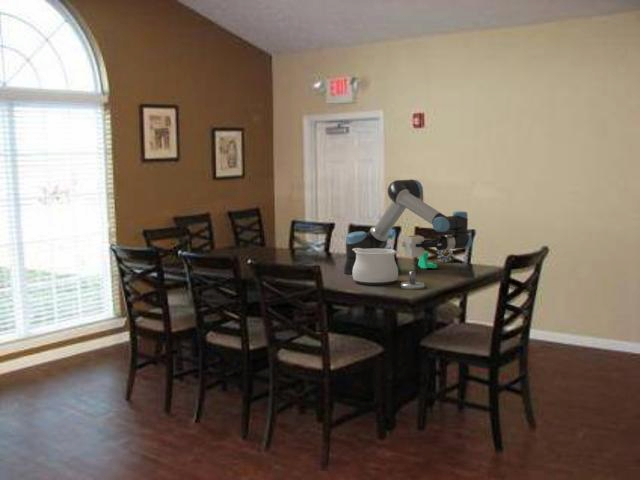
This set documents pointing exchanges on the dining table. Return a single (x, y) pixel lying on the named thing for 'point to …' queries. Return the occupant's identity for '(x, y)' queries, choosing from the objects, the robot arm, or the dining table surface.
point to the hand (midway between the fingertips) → (405, 245)
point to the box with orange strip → (413, 251)
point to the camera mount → (425, 262)
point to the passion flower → (445, 255)
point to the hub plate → (410, 286)
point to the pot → (375, 266)
